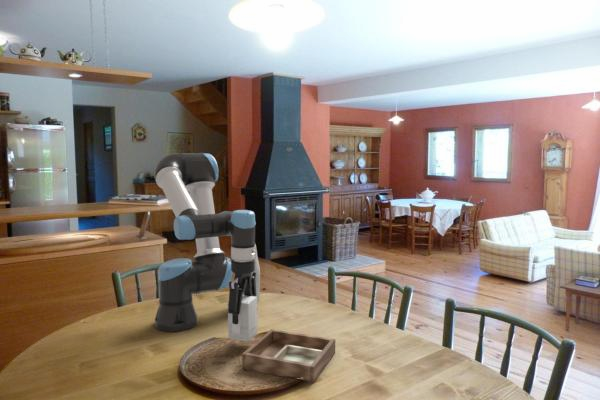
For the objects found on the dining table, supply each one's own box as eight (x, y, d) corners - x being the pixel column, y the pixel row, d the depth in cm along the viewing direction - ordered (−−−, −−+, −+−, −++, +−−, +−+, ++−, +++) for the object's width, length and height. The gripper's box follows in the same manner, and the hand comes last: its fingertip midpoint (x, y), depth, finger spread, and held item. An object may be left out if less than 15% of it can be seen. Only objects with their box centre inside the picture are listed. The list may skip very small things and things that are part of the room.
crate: (242, 368, 132) (242, 353, 131) (271, 342, 150) (271, 329, 150) (313, 382, 124) (314, 366, 123) (335, 353, 142) (335, 339, 142)
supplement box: (258, 333, 150) (258, 296, 148) (248, 342, 143) (248, 303, 141) (237, 330, 152) (237, 293, 151) (227, 338, 145) (227, 300, 144)
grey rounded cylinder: (233, 305, 187) (232, 238, 184) (258, 303, 190) (257, 237, 187) (236, 313, 178) (235, 242, 175) (262, 311, 180) (261, 241, 177)
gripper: (237, 268, 134) (237, 342, 136) (267, 253, 153) (266, 318, 155) (215, 265, 136) (216, 338, 139) (247, 251, 155) (247, 315, 158)
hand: (242, 328), depth 147 cm, fingers closed on supplement box, 7 cm apart
